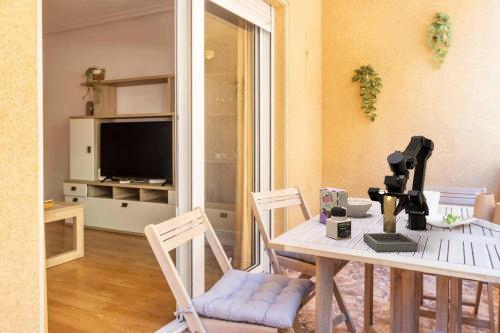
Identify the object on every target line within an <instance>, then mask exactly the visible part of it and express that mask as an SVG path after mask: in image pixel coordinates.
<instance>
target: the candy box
mask: <svg viewBox="0 0 500 333" xmlns="http://www.w3.org/2000/svg"><path fill="white" fill-rule="evenodd" d="M348 192H349V191H348V190H345V189H340V188H334V187H330V186H329V187H327V186H326V187H319V223H321V224H324V225H326V219H329V218H331V208H333V207H344V208H346V209H347V200H349V198H348ZM346 219H348V215H347V212H346Z"/></svg>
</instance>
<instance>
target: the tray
mask: <svg viewBox="0 0 500 333" xmlns="http://www.w3.org/2000/svg"><path fill="white" fill-rule="evenodd" d="M363 242H364V244H366V243H367V244H368V245H369V246H368V247H370V248H371V249H372V250H373V251H374V250H375V251H374V252H376V253H405V252H406V253H407V252H410V253H413V252H412V251H418V250H419V248H418V247H419V246H418V245H419V243H418V242H417V241H415V240H413V239H412V238H410V237H408V236H407V235H405V234H403V233H402V232H396V233H385V232H378V233H377V232H375V233H374V232H373V233H365V232H364V233H363ZM367 244H366V245H367Z"/></svg>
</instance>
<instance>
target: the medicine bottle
mask: <svg viewBox="0 0 500 333" xmlns="http://www.w3.org/2000/svg"><path fill="white" fill-rule="evenodd" d="M346 212H347V209H346V208H344V207H333V208H331V218H329V219H326V224H325V226H326V227H325V236H326V237H328V238H330V237H331V239H333V238H334V239H333V240H336V239H337V241H340V240H346V239H351V238H352V220H351V219H349V218H347V219H346ZM339 239H340V240H339Z"/></svg>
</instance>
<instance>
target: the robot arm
mask: <svg viewBox="0 0 500 333" xmlns="http://www.w3.org/2000/svg"><path fill="white" fill-rule="evenodd" d="M434 149H435V143H434V141H433V140H432V139H430V138H428V137H425V135H413V136H411V137H410V141H409V142H408V144H407V146H406V147H405V149H404V150H403V151H401V150H394V152H392V153H390V154H389V155H387V157H386V161H387V164H388V166H389V169H390V172H392V175H385V176H384V180H383V185H384V187H385V188H384V189H385V190H386V191H385V190H383V189H381V188H380V187H374V186H372V187H368V189H367V195H368V197H369V199H370V202H378V203H379V204H380V213H381V215H383V208H384V196H396V197H397V200H398V203H397V204H396V210H395V214H394V215H395V216H396V217H397V216H398V215H399V214H400V213H402V211H404V213H405V215H408V216H407V225H406V228H408V229H410V230H412V231H427V230H428V228H427V216H430V208H429V205H428V201H427V197H426V195H425V194H424V188H425V181H426V180H425V179H426V173H427V172H426V171H427V163H428V160H429V159H430V158H431V156H432V155H433V151H435V150H434ZM410 170H411V171H413V179H412V185H411V186H412V188H411V189H409V190H408V191H407V185H408V180H410V174H411V172H410ZM405 191H407V193H405Z"/></svg>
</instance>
